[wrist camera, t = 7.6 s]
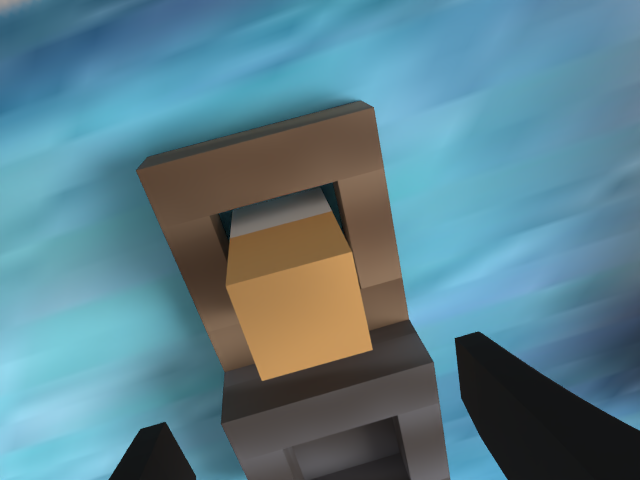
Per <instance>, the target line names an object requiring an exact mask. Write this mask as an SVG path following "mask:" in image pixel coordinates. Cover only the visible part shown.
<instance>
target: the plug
mask: <svg viewBox="0 0 640 480" xmlns="http://www.w3.org/2000/svg"><path fill="white" fill-rule="evenodd" d="M226 289H227V291H228V294H229V296H230V299H231V302H232V304H233V307H234V310H235V312H236V315H237V317H238V320H239V323H240V325H241V328H242V331H243V333H244V336H245V338H246V341H247V344H248V346H249V349H250V351H251V354H252V357H253V359H254V362H255V365H256V367H257V370H258V372H259V375H260V378H261V380H262V381H264V380H268V379H271V378H275V377H278V376H282V375H286V374H289V373H293V372H296V371H300V370H303V369H307V368H310V367H314V366H317V365H321V364H325V363H328V362H332V361H335V360H339V359H342V358H346V357H349V356H353V355H356V354H360V353H364V352H367V351H371V350H373V348H372V344H371V339H370V334H369V330H368V325H367V320H366V316H365V311H364V306H363V301H362V297H361V292H360V287H359V283H358V278H357V273H356V269H355V264H354V259H353V255H352V251H351V249H350V247H349V245H348V243H347V241H346V239H345V237H344V235H343V233H342V231H341V229H340V226H339V224H338V222H337V220H336V218H335V216H334V214H333V212H332V210H331V208H330V206H329V204H328V202H327V200H326V198H325V196H324V194H323V192H322V190H321V188H320V187H318V188H314V189H310V190H307V191H303V192H299V193H295V194H292V195H288V196H284V197H280V198H276V199H273V200H269V201H265V202H261V203H258V204H254V205H250V206H246V207H242V208H239V209H235V210H232V221H231V232H230V243H229V254H228V265H227V276H226Z"/></svg>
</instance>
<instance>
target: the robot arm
mask: <svg viewBox="0 0 640 480" xmlns="http://www.w3.org/2000/svg"><path fill="white" fill-rule="evenodd" d="M455 345H456V355H457V364H458V373H459V382H460V391H461V399H462V401H463V403H464V405H465V407H466V409H467V411H468V413H469V415H470V417H471V419H472V421H473V423H474V425H475V427H476V429H477V431H478V433H479V435H480V437H481V438H482V440H483V442H484V443H485V445H486V446H487V448H488V450H489V451H490V453H491V454H492V456H493V457H494V459H495V461H496V462H497V464H498V465H499V467H500V468H501V470H502V472H503V473H504V475H505V476H506V478H507V479H508V480H640V431H639V430H637V429H635V428H633V427H632V426H630V425H628V424H626V423H624V422H622V421H620V420H619V419H617V418H615V417H613V416H611V415H609V414H608V413H606V412H604V411H602V410H601V409H599V408H597V407H595V406H594V405H592V404H590V403H588V402H587V401H585V400H583V399H582V398H580V397H578V396H577V395H575V394H573V393H571V392H570V391H568V390H567V389H565V388H563V387H562V386H560V385H559V384H557V383H555V382H554V381H552V380H551V379H549V378H548V377H546V376H544V375H543V374H541V373H540V372H538V371H537V370H535V369H534V368H532V367H530V366H529V365H527V364H526V363H525V362H523V361H522V360H520V359H519V358H517V357H516V356H514V355H513V354H511V353H510V352H508V351H507V350H505V349H504V348H503V347H501V346H500V345H498V344H497V343H495V342H494V341H492V340H491V339H490V338H488V337H487V336H485V335H484V334H482V333H481V332H479V331H478V332H475V333H471V334H468V335H464V336H461V337H457V338H455ZM109 480H196V475H195V474H194V472H193V470H192V468H191V466H190V465H189V463H188V461H187V459H186V458H185V456H184V454H183V452H182V450H181V449H180V447H179V445H178V443H177V442H176V440H175V438H174V436H173V434H172V433H171V431H170V429H169V427H168V426H167V424H166V422H163V423H160V424H156V425H153V426H150V427H146V428H143V429H140V431H139V432H138V434H137V435H136V437H135V438H134V440H133V441H132V443H131V445H130V446H129V448H128V449H127V451H126V453H125V454H124V456H123V458H122V459H121V461H120V462H119V464H118V466H117V467H116V469H115V470H114V472H113V474H112V475H111V477H110V478H109Z"/></svg>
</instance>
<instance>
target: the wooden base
mask: <svg viewBox="0 0 640 480" xmlns="http://www.w3.org/2000/svg"><path fill="white" fill-rule="evenodd" d="M136 172H137V174H138V176H139V179H140V181H141V183H142V186H143V188H144V190H145V192H146V195H147V197H148V199H149V201H150V204H151V206H152V208H153V211H154V213H155V215H156V217H157V220H158V222H159V224H160V226H161V229H162V231H163V233H164V236H165V238H166V240H167V242H168V245H169V247H170V249H171V251H172V254H173V256H174V258H175V261H176V263H177V265H178V267H179V270H180V272H181V274H182V276H183V279H184V281H185V283H186V286H187V288H188V290H189V292H190V295H191V297H192V299H193V301H194V304H195V306H196V308H197V311H198V313H199V315H200V317H201V320H202V322H203V324H204V327H205V329H206V331H207V333H208V336H209V338H210V340H211V342H212V345H213V347H214V349H215V352H216V354H217V356H218V358H219V361H220V363H221V365H222V367H223V370H224V372H225V374H224V388H223V402H222V416H221V425H222V427H223V429H224V431H225V433H226V435H227V438H228V440H229V442H230V444H231V446H232V448H233V450H234V452H235V454H236V456H237V458H238V460H239V463H240V465H241V467H242V469H243V471H244V473H245V475H246V477H247V479H248V480H450V474H449V467H448V460H447V453H446V446H445V439H444V432H443V425H442V418H441V411H440V404H439V397H438V389H437V382H436V375H435V368H434V362H433V360H432V358H431V357H430V355H429V353H428V351H427V350H426V348H425V346H424V345H423V343H422V341H421V339H420V338H419V336H418V334H417V332H416V331H415V329H414V327H413V325H412V324H411V322H410V320H409V316H408V310H407V304H406V298H405V292H404V286H403V280H402V274H401V268H400V262H399V256H398V250H397V244H396V238H395V232H394V226H393V220H392V214H391V208H390V202H389V196H388V190H387V184H386V178H385V172H384V166H383V160H382V154H381V148H380V142H379V136H378V130H377V124H376V117H375V111H374V107H372V106H370V105H369V104H367V103H365V102H363V101H357V102H353V103H350V104H346V105H342V106H338V107H334V108H331V109H327V110H323V111H319V112H316V113H312V114H308V115H304V116H300V117H297V118H293V119H289V120H285V121H282V122H278V123H274V124H270V125H266V126H263V127H259V128H255V129H251V130H248V131H244V132H240V133H236V134H232V135H229V136H225V137H221V138H217V139H214V140H210V141H206V142H202V143H198V144H195V145H191V146H187V147H183V148H180V149H176V150H172V151H168V152H164V153H161V154H157V155H153V156H149V157H147V158H146V159H145V160H144V162H143V163H142V164H141V165H140V166H139V167H138V169H137V170H136ZM332 182H333V187H334V191H335V196H336V200H337V205H338V209H339V213H340V218H341V222H342V227H343V231H344V235H345V239H346V241H347V243H348V245H349V247H350V249H351V251H352V255H353V259H354V264H355V269H356V273H357V278H358V283H359V287H360V292H361V297H362V301H363V306H364V311H365V316H366V320H367V325H368V330H369V334H370V339H371V344H372V348H373V350H371V351H367V352H364V353H360V354H356V355H353V356H349V357H346V358H342V359H339V360H335V361H332V362H328V363H325V364H321V365H317V366H314V367H310V368H307V369H303V370H300V371H296V372H293V373H289V374H286V375H282V376H278V377H275V378H271V379H268V380H264V381H262V380H261V378H260V375H259V372H258V370H257V367H256V365H255V362H254V359H253V357H252V354H251V351H250V349H249V346H248V344H247V341H246V338H245V336H244V333H243V331H242V328H241V325H240V323H239V320H238V317H237V315H236V312H235V310H234V307H233V304H232V302H231V299H230V296H229V294H228V291H227V289H226V276H227V265H228V254H229V241H228V238H227V236H226V233H225V230H224V227H223V225H222V222H221V219H220V217H219V214H218V213H221V212H225V211H229V210H232V209H236V208H240V207H243V206H247V205H251V204H254V203H258V202H262V201H265V200H269V199H273V198H277V197H280V196H284V195H288V194H291V193H295V192H299V191H302V190H306V189H310V188H313V187H317V186H321V185H324V184H328V183H332Z"/></svg>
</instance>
